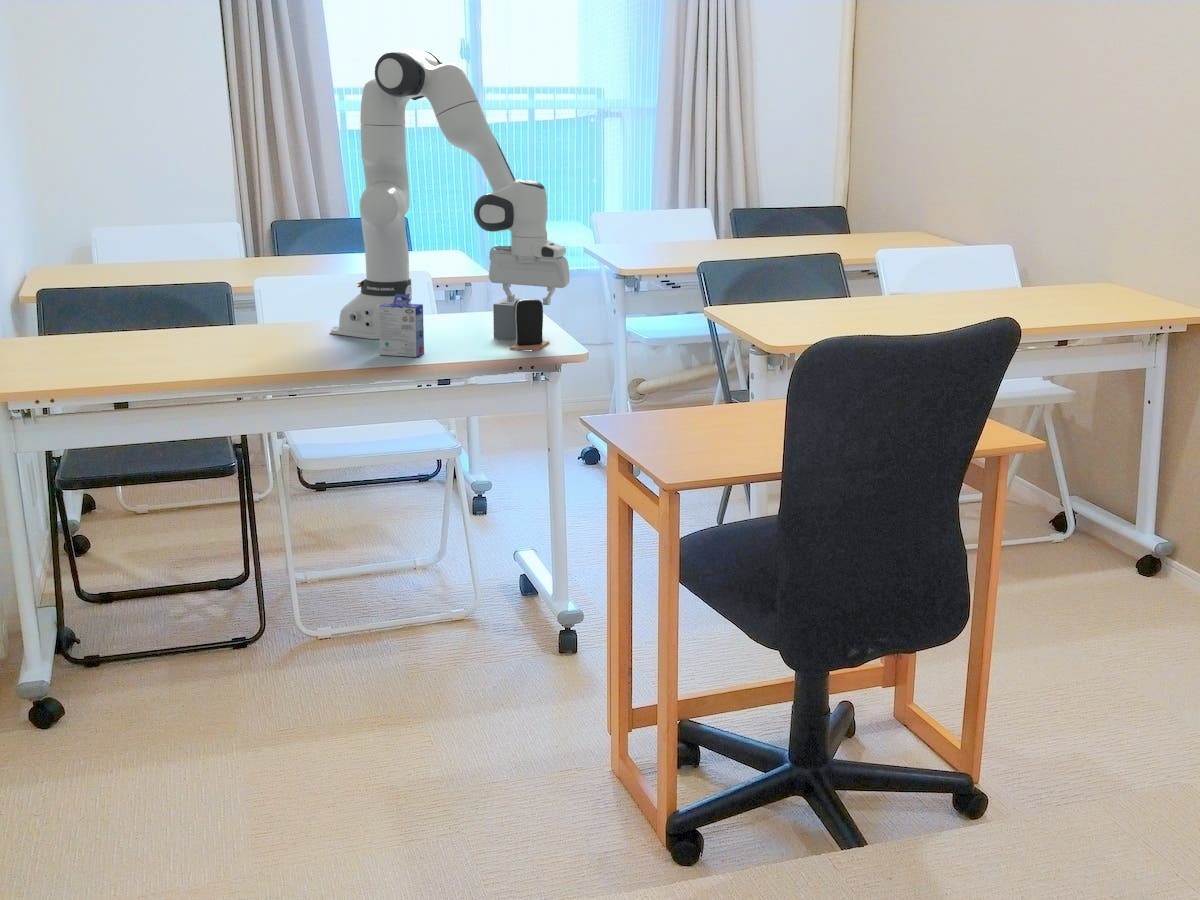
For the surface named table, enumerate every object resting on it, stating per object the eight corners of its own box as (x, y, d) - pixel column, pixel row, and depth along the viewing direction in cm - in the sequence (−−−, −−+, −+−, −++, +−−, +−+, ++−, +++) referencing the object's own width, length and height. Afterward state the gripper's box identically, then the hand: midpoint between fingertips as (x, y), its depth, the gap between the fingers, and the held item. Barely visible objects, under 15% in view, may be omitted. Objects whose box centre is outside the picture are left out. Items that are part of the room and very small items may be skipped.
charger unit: (493, 338, 306) (493, 303, 303) (508, 330, 315) (507, 296, 313) (522, 340, 304) (522, 305, 301) (536, 332, 313) (536, 298, 311)
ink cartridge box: (425, 353, 288) (423, 294, 284) (417, 358, 283) (415, 298, 279) (387, 350, 290) (385, 292, 286) (378, 355, 285) (376, 296, 281)
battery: (539, 341, 300) (539, 296, 297) (543, 344, 297) (543, 299, 293) (512, 343, 298) (512, 298, 295) (516, 346, 295) (516, 300, 291)
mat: (509, 349, 293) (509, 347, 293) (523, 341, 303) (523, 339, 302) (536, 351, 292) (536, 349, 291) (549, 343, 301) (549, 341, 301)
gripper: (484, 246, 290) (485, 302, 294) (564, 251, 284) (563, 308, 288) (494, 243, 295) (494, 298, 300) (572, 248, 290) (571, 304, 294)
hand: (528, 303), depth 294 cm, fingers open, 8 cm apart
